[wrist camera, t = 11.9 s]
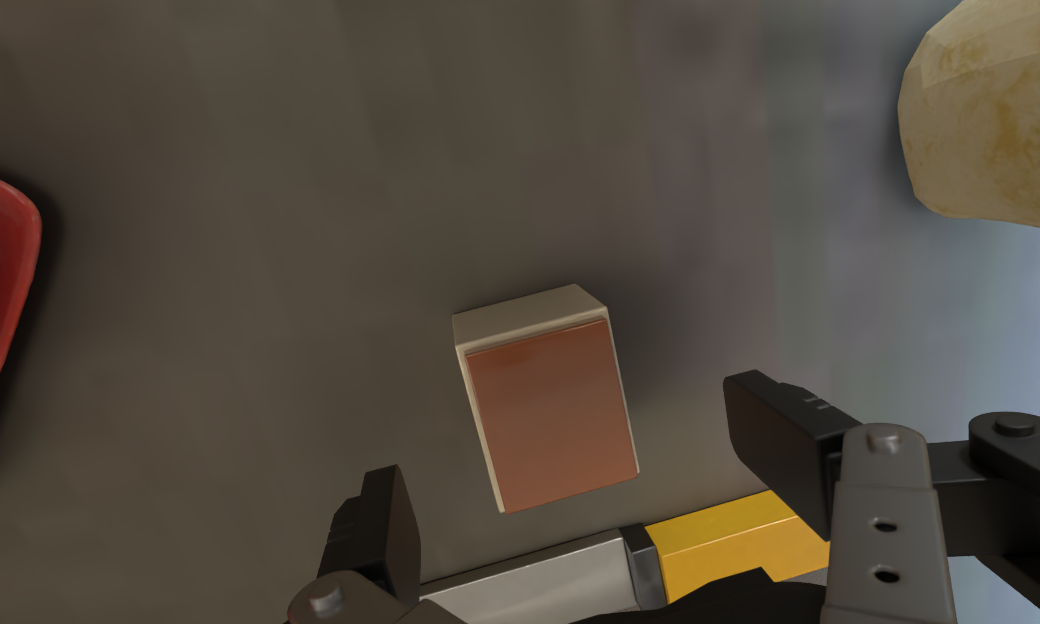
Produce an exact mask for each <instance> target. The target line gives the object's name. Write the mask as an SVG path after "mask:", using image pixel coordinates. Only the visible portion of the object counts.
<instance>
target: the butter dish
mask: <svg viewBox="0 0 1040 624" xmlns="http://www.w3.org/2000/svg"><path fill="white" fill-rule="evenodd" d="M41 236H42V221H41V217H40V213H39V211H38V209H37V208H36V206H35V205H34V203H33V202H32V201H31V200H30V199H29V198H28V197H27V196H25V195H24V194H23V193H22V192H20V191H19V190H17V189H16V188H14V187H12V186H11V185H9V184H7V183H5V182H3V181H2V180H0V372H1V369H2V366H3V364H4V363H5V360H6V357H7V353H8V351H9V348H10V345H11V342H12V339H13V337H14V334H15V330H16V328H17V326H18V322H19V318H20V315H21V312H22V309H23V307H24V304H25V302H26V298H27V296H28V292H29V288H30V285H31V283H32V281H33V278H34V272H35V269H36V263H37V260H38V256H39V252H40V247H41Z"/></svg>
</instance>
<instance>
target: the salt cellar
mask: <svg viewBox="0 0 1040 624" xmlns="http://www.w3.org/2000/svg"><path fill="white" fill-rule="evenodd" d="M451 320H452V328H453V335H454V343H455V349H456V353H457V357H458V361H459V364H460V368H461V372H462V375H463V379H464V383H465V387H466V390H467V394H468V398H469V402H470V405H471V409H472V413H473V416H474V420H475V424H476V428H477V431H478V435H479V439H480V442H481V446H482V450H483V454H484V457H485V461H486V465H487V469H488V472H489V476H490V480H491V483H492V487H493V491H494V495H495V498H496V502H497V506H498V510H499V511H500V512H501V513H502V512H506V514H512V513H515V512H518V511H522V510H525V509H529V508H532V507H536V506H539V505H543V504H546V503H550V502H553V501H557V500H560V499H564V498H567V497H571V496H574V495H578V494H581V493H585V492H588V491H592V490H595V489H599V488H602V487H606V486H609V485H613V484H616V483H620V482H623V481H627V480H630V479H634V478H637V477H638V473H639V465H638V460H637V455H636V450H635V445H634V440H633V435H632V430H631V425H630V420H629V415H628V410H627V405H626V400H625V395H624V390H623V384H622V379H621V374H620V369H619V364H618V359H617V354H616V349H615V344H614V339H613V334H612V329H611V324H610V319H609V314H608V309H607V307H606V306H605V305H604V304H602V303H601V302H600V301H598V300H597V299H596V298H594V297H593V296H592V295H590V294H589V293H588V292H586V291H585V290H584V289H583V288H581V287H580V286H579V285H577V284H571V285H567V286H563V287H559V288H555V289H551V290H547V291H543V292H540V293H536V294H532V295H528V296H524V297H520V298H516V299H512V300H508V301H504V302H501V303H497V304H493V305H489V306H485V307H481V308H477V309H473V310H469V311H465V312H462V313H458V314H454V315H452V316H451Z"/></svg>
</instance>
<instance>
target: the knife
mask: <svg viewBox="0 0 1040 624" xmlns="http://www.w3.org/2000/svg"><path fill="white" fill-rule="evenodd" d="M829 550H830V541H829V542H825V541H824V540H823V539H822V538H821V537H820V536H819V535H817V534H816V533H815V532H814V531H813V530H812V529H811V528H810V527H809V526H808V525H807V524H806V523H805V522H804V521H803V520H802V519H801V518H800V517H799V516H798V515H797V514H796V513H795V512H794V511H793V510H792V509H790V508H789V507H788V506H787V505H786V504H785V503H784V502H783V501H782V500H781V499H780V498H779V497H778V496H777V495H776V494H775V493H774V492H773V491H772V490H768V491H765V492H761V493H758V494H755V495H751V496H748V497H744V498H741V499H738V500H734V501H731V502H727V503H724V504H721V505H717V506H714V507H710V508H707V509H704V510H700V511H697V512H693V513H690V514H687V515H683V516H680V517H676V518H673V519H670V520H666V521H663V522H659V523H656V524H653V525H649V526H646V527H644V525H643V524H642V523H641V524H637V525H634V526H630V527H627V528H624V529H620V530H619V529H618V528H616V529H612V530H609V531H605V532H602V533H598V534H595V535H592V536H588V537H585V538H581V539H578V540H575V541H571V542H568V543H564V544H561V545H558V546H554V547H551V548H547V549H544V550H540V551H537V552H534V553H530V554H527V555H523V556H520V557H517V558H513V559H510V560H506V561H503V562H499V563H496V564H493V565H489V566H486V567H482V568H479V569H476V570H472V571H469V572H465V573H462V574H459V575H455V576H452V577H448V578H445V579H441V580H438V581H435V582H431V583H428V584H424V585H421V586H420V601H421V600H422V599H430V600H432V601H434V602H435V603H437V604H438V605H440V606H441V607H443V608H445V609H446V610H448V611H449V612H451V613H452V614H454V615H455V616H457V617H458V618H460V619H462V620H463V621H465V622H466V623H468V624H568V623H572V622H575V621H578V620H582V619H585V618H589V617H592V616H595V615H599V614H608V613H613V612H616V611H619V610H623V609H626V608H629V607H632V606H636V605H637V603H638V605H639V607H640V609H641V611H642V610H653V609H659V608H663V607H665V606H667V605H669V604H670V603H672V602H674V601H676V600H678V599H679V598H681V597H683V596H685V595H687V594H688V593H690V592H692V591H694V590H696V589H697V588H699V587H701V586H703V585H705V584H706V583H708V582H710V581H714V580H717V579H721V578H724V577H727V576H731V575H734V574H738V573H741V572H744V571H748V570H751V569H754V568H758V567H762V568H763V569H764V570H765V571H766V573H767V574H768V575H769V576H770V578H771V579H772V580H773V581H774V582H779V581H782V580H786V579H789V578H792V577H795V576H799V575H802V574H805V573H808V572H812V571H815V570H818V569H821V568H825V567H828V562H829Z"/></svg>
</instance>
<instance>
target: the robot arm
mask: <svg viewBox="0 0 1040 624" xmlns="http://www.w3.org/2000/svg"><path fill="white" fill-rule="evenodd" d="M723 390H724V397H725V405H726V412H727V419H728V427H729V434H730V439H731V443H732V446H733V448H734V450H735V452H736V454H737V456H738V458H739V459H740V460H741V461H742V462H743V463H744V464H745V465H746V466H747V467H748V468H749V469H750V470H751V471H752V472H753V473H754V474H755V475H756V476H757V477H758V478H759V479H760V480H761V481H762V482H763V483H765V484H766V485H767V486H768V487H769V488H770V489H771V490H772V491H773V492H774V493H775V494H776V495H777V496H778V497H779V498H780V499H781V500H782V501H783V502H784V503H785V504H786V505H787V506H788V507H789V508H790V509H792V510H793V511H794V512H795V513H796V514H797V515H798V516H799V517H800V518H801V519H802V520H803V521H804V522H805V523H806V524H807V525H808V526H809V527H810V528H811V529H812V530H813V531H814V532H815V533H816V534H817V535H819V536H820V537H821V538H822V539H823V540H824V541H825V542H829V541H830V550H829V562H828V573H827V585H826V586H822V585H817V584H811V583H802V582H774V581H773V580H772V579H771V578H770V576H769V575H768V574H767V573H766V571H765V570H764V569H763V568H762V567H758V568H754V569H751V570H748V571H744V572H741V573H738V574H734V575H731V576H727V577H724V578H721V579H717V580H714V581H710V582H708V583H706V584H705V585H703V586H701V587H699V588H697V589H696V590H694V591H692V592H690V593H688V594H687V595H685V596H683V597H681V598H679V599H678V600H676V601H674V602H672V603H670V604H669V605H667V606H665V607H663V608H659V609H653V610H642V611H631V612H619V613H608V614H599V615H595V616H592V617H589V618H585V619H582V620H578V621H575V622H572V623H568V624H958V623H957V617H956V611H955V604H954V598H953V591H952V585H951V578H950V572H949V565H948V559H947V557H954V556H975V557H976V558H977V559H978V560H979V561H980V562H981V563H983V564H984V565H985V566H986V567H988V568H989V569H990V570H991V571H993V572H994V573H995V574H996V575H998V576H999V577H1000V578H1001V579H1003V580H1004V581H1005V582H1007V583H1008V584H1009V585H1010V586H1012V587H1013V588H1014V589H1015V590H1017V591H1018V592H1019V593H1020V594H1022V595H1023V596H1024V597H1025V598H1027V599H1028V600H1029V601H1030V602H1032V603H1033V604H1034V605H1035V606H1037V607H1038V608H1039V609H1040V417H1039V416H1036V415H1031V414H1026V413H1019V412H991V413H986V414H982V415H979V416H977V417H974V418H973V419H972V420H971V421H970V422H969V440H966V441H953V442H941V443H926V440H925V438H924V437H923V436H922V435H921V434H920V433H918V432H917V431H915V430H913V429H911V428H908V427H905V426H901V425H897V424H890V423H869V424H862V423H860V422H859V421H857V420H855V419H854V418H852V417H851V416H849V415H847V414H846V413H844V412H842V411H841V410H839V409H837V408H836V407H834V406H830V404H829V403H827V402H826V401H824V400H822V399H819V398H818V397H817V396H816V395H814V394H813V393H811V392H809V391H808V390H806V389H804V388H801V387H798V386H794V385H790V384H786V383H777V382H776V381H774V380H772V379H771V378H769V377H768V376H766V375H765V374H763V373H761V372H760V371H758V370H751V371H747V372H743V373H739V374H736V375H732V376H728V377H726V378H725V379H724V381H723ZM330 531H331V532H329V535H328V539H327V544H326V546H325V550H324V553H323V557H322V560H321V564H320V568H319V571H318V575H317V578H316V580H314V581H312V582H311V583H309V584H308V585H307V586H305V587H304V588H303V589H302V590H301V591H300V592H299V593H298V594H297V595H296V596H295V597H294V599H293V600H292V601H291V603H290V605H289V608H288V611H287V616H288V621H286V622H285V623H283V624H468V623H466V622H465V621H463V620H462V619H460V618H458V617H457V616H455V615H454V614H452V613H451V612H449V611H448V610H446V609H445V608H443V607H441V606H440V605H438V604H437V603H435V602H434V601H432V600H430V599H422V600H421V601H420V567H421V543H420V535H419V530H418V526H417V522H416V518H415V515H414V512H413V509H412V505H411V502H410V499H409V495H408V492H407V489H406V486H405V482H404V479H403V476H402V473H401V470H400V468H399V466H398V464H395V465H391V466H388V467H384V468H380V469H376V470H373V471H369V472H366V473H365V476H364V481H363V486H362V490H361V495H360V496H357V497H353V498H350V499H347V500H346V501H345V502H344V503H343V505H342V506H341V507H340V508H339V509H338V511H337V512H336V513H335V514H334V517H333V521H332V524H331V528H330Z"/></svg>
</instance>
